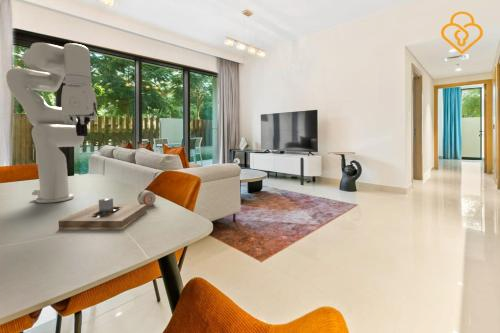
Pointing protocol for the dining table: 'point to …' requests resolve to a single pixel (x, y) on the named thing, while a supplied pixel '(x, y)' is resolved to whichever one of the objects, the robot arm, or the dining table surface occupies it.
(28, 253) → the dining table surface
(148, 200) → the roller toy
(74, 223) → the socket plate
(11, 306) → the dining table surface
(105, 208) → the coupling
